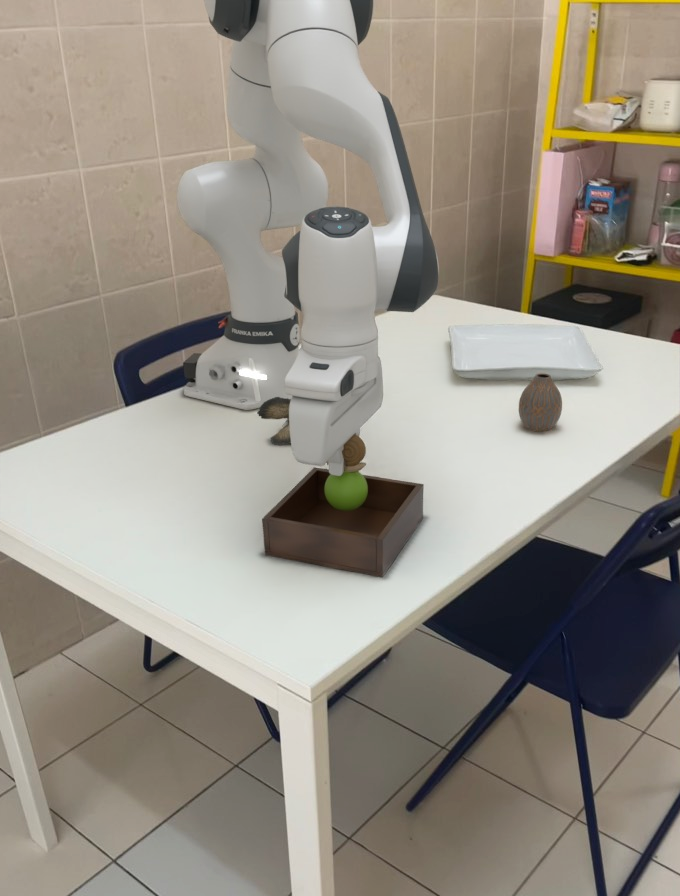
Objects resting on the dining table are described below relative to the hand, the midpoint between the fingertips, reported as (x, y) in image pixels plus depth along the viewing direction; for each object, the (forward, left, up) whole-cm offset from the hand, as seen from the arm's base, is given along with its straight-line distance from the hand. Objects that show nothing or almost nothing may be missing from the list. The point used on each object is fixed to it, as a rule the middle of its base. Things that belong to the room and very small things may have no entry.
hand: (342, 467), depth 108 cm
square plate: (+6, +75, -10) cm, 76 cm away
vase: (+16, +44, -10) cm, 48 cm away
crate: (0, 0, -10) cm, 10 cm away
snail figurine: (0, 0, -6) cm, 6 cm away
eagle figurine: (-21, +28, -10) cm, 36 cm away
